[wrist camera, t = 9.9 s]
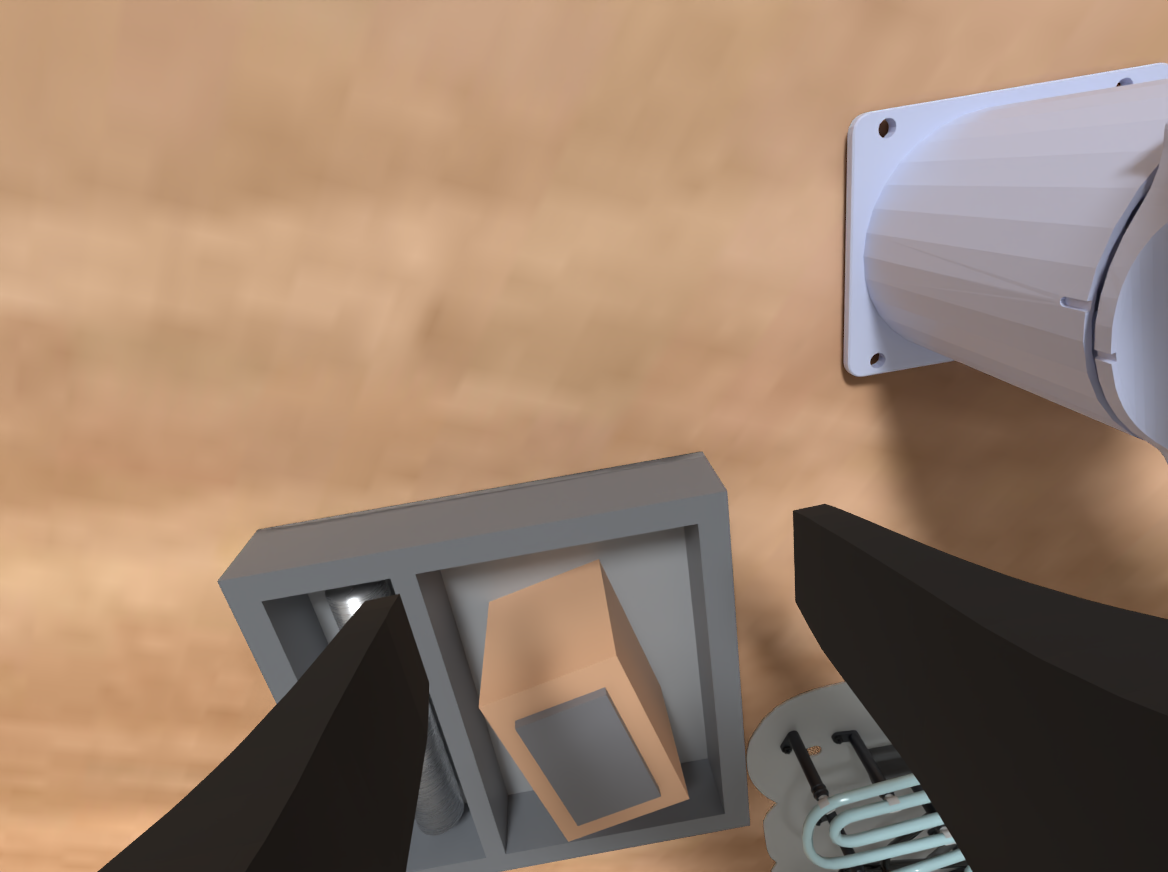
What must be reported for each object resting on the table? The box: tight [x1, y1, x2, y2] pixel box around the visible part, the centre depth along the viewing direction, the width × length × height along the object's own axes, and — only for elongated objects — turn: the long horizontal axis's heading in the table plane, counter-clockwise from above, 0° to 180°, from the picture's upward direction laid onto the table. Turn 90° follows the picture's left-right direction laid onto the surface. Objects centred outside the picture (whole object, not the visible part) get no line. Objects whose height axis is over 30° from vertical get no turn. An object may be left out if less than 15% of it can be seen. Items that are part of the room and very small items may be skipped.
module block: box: [479, 559, 689, 842], centre depth 22 cm, size 4×7×5 cm, turn 22°
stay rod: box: [325, 579, 464, 836], centre depth 23 cm, size 12×2×2 cm, turn 9°
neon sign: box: [746, 681, 972, 872], centre depth 29 cm, size 21×4×29 cm
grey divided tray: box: [217, 452, 750, 872], centre depth 23 cm, size 16×16×3 cm
